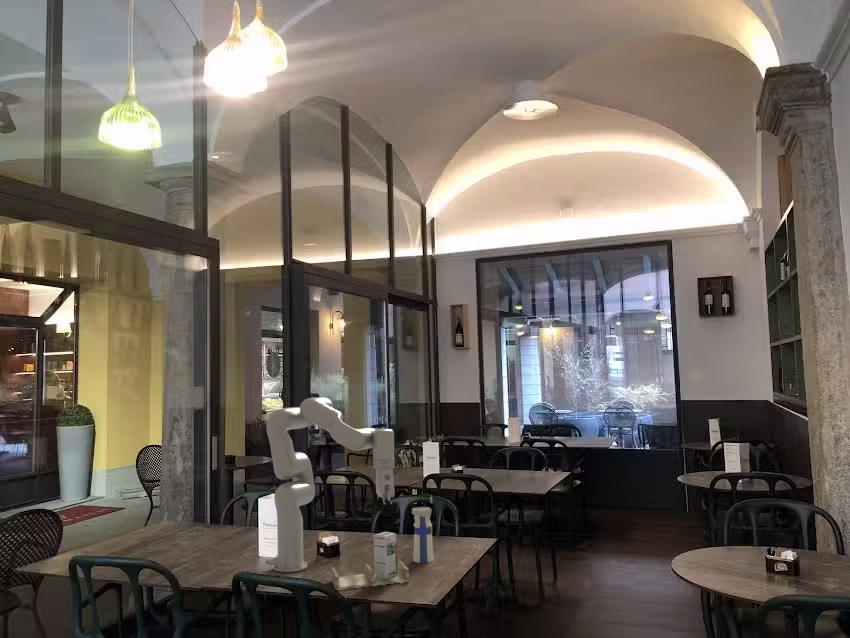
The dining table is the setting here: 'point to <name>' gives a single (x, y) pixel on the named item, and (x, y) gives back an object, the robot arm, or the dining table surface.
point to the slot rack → (368, 578)
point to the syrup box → (385, 555)
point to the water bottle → (423, 534)
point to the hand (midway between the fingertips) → (384, 513)
